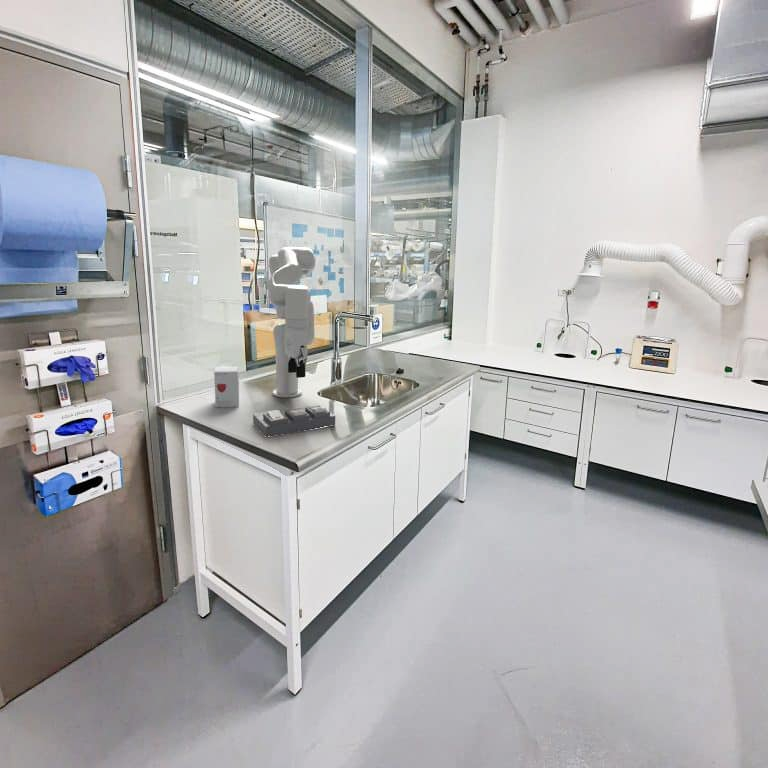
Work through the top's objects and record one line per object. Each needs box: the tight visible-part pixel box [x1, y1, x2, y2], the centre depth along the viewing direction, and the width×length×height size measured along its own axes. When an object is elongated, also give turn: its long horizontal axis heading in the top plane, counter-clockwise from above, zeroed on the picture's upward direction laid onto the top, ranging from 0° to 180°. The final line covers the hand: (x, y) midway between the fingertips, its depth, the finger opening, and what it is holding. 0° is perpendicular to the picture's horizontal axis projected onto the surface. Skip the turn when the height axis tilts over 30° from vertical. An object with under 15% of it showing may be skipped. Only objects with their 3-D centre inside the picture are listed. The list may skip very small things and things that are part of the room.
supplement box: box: [213, 366, 240, 409], centre depth 181 cm, size 9×9×15 cm
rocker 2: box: [309, 406, 327, 413], centre depth 165 cm, size 6×4×1 cm, turn 33°
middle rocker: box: [289, 410, 306, 416], centre depth 161 cm, size 6×4×1 cm, turn 33°
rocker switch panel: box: [252, 404, 336, 438], centre depth 163 cm, size 14×26×6 cm, turn 123°
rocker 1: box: [266, 409, 284, 420], centre depth 156 cm, size 6×4×1 cm, turn 33°
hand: (296, 374), depth 157 cm, fingers open, 6 cm apart
